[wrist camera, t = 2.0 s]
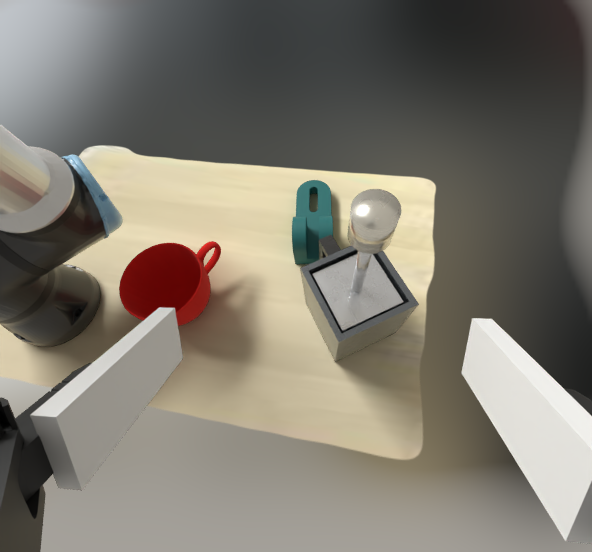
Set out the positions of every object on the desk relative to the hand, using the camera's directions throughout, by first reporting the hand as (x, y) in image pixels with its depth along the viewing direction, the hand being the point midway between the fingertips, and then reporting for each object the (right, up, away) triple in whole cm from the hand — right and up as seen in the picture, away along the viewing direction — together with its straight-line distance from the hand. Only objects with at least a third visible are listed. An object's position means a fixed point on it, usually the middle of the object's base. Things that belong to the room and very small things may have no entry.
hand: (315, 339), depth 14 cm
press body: (+7, -3, +39) cm, 40 cm away
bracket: (+3, +13, +47) cm, 49 cm away
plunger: (+7, +1, +27) cm, 28 cm away
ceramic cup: (-19, -1, +43) cm, 47 cm away
